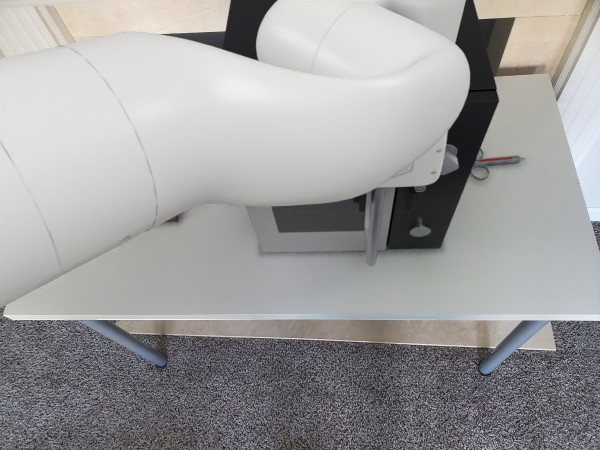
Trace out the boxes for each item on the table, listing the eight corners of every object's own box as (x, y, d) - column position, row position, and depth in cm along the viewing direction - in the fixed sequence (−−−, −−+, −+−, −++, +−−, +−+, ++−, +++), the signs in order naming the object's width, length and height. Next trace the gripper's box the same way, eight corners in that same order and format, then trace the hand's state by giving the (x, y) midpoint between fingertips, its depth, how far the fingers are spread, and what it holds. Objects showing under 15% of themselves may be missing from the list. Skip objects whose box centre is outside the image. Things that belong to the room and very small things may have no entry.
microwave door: (387, 281, 74) (414, 149, 44) (260, 282, 76) (204, 156, 47) (384, 242, 78) (407, 95, 48) (263, 244, 80) (213, 105, 50)
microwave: (440, 253, 76) (501, 104, 46) (262, 255, 79) (210, 118, 49) (421, 120, 91) (458, -58, 61) (272, 126, 94) (237, -40, 64)
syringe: (538, 177, 82) (542, 171, 80) (440, 185, 83) (441, 180, 82) (526, 144, 86) (529, 138, 84) (432, 153, 87) (433, 147, 85)
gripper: (303, 128, 39) (316, 229, 54) (506, 119, 37) (459, 226, 53) (304, 68, 42) (316, 179, 58) (489, 58, 41) (450, 175, 56)
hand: (384, 200), depth 55 cm, fingers open, 5 cm apart
